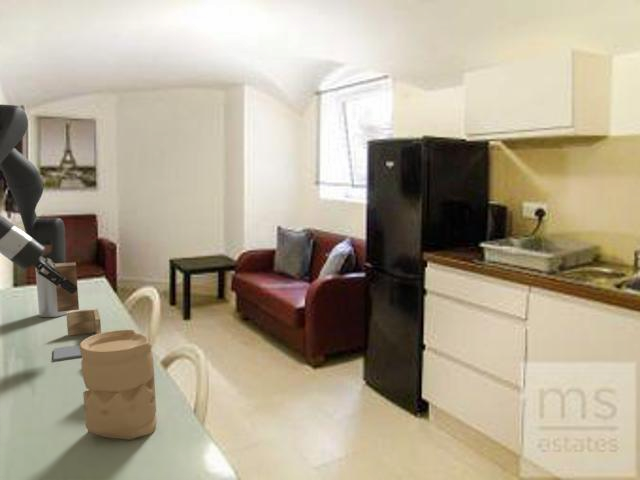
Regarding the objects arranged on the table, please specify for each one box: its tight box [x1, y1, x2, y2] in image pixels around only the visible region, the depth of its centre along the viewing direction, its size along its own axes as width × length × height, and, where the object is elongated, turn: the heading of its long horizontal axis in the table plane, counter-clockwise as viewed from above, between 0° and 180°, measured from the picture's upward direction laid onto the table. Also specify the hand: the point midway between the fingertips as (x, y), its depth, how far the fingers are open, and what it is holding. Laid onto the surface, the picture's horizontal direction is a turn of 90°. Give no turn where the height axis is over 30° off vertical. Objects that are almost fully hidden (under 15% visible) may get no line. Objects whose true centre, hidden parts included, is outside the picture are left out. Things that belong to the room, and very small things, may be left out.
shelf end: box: [65, 308, 102, 336], centre depth 151 cm, size 9×13×7 cm
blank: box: [55, 261, 80, 312], centre depth 137 cm, size 5×5×12 cm
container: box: [79, 328, 157, 441], centre depth 97 cm, size 13×13×18 cm
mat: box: [53, 344, 83, 362], centre depth 140 cm, size 9×9×1 cm
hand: (74, 288), depth 138 cm, fingers closed on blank, 5 cm apart
